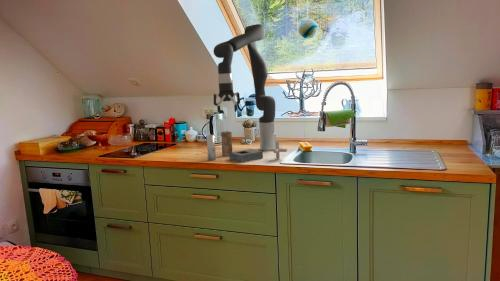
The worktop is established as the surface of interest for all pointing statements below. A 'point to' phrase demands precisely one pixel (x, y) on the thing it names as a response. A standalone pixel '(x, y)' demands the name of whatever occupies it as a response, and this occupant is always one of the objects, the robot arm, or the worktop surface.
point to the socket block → (246, 155)
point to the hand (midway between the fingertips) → (227, 112)
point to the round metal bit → (211, 147)
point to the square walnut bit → (226, 143)
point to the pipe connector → (277, 150)
